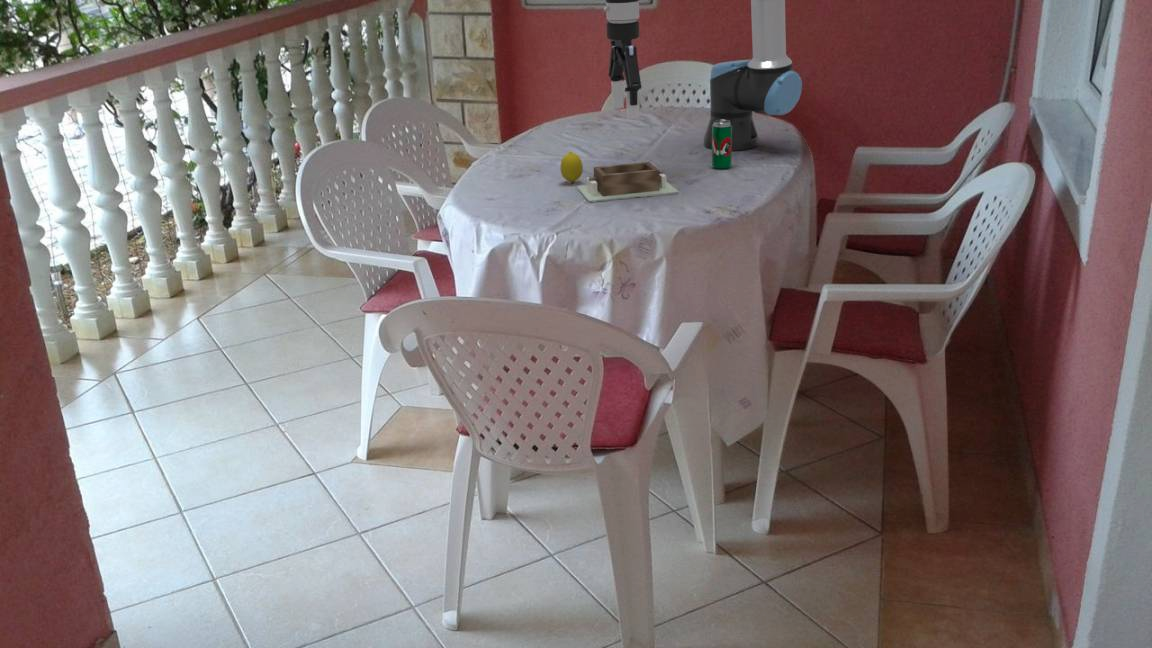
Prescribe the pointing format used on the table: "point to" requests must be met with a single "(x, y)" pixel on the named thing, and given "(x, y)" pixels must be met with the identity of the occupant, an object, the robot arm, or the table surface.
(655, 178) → the brown wooden open box
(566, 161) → the lemon
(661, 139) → the table surface
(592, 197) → the wall board
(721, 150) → the soda can
